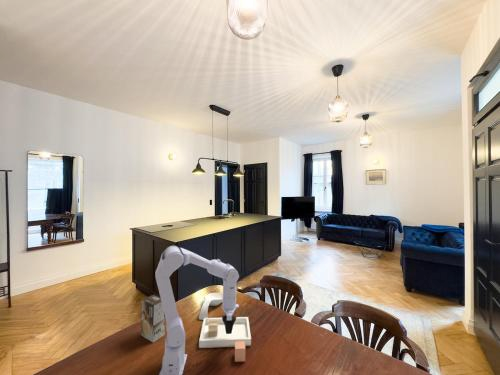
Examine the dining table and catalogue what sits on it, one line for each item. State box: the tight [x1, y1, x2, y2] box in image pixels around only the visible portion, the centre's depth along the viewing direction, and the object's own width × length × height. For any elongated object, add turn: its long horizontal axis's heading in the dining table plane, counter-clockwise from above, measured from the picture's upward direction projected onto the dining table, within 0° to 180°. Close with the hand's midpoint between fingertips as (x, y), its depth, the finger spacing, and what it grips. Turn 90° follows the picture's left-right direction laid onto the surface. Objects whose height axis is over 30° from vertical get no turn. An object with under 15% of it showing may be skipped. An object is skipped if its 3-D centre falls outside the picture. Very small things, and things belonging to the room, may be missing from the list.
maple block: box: [208, 320, 218, 337], centre depth 99 cm, size 4×4×5 cm
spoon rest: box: [198, 292, 223, 321], centre depth 121 cm, size 24×12×7 cm, turn 171°
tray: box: [198, 316, 252, 349], centre depth 99 cm, size 16×22×3 cm
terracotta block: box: [234, 341, 246, 363], centre depth 86 cm, size 4×4×5 cm
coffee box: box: [140, 294, 166, 343], centre depth 97 cm, size 9×6×16 cm
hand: (228, 327), depth 91 cm, fingers open, 7 cm apart
